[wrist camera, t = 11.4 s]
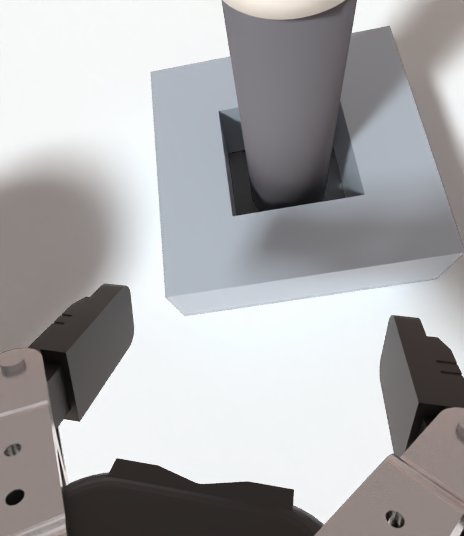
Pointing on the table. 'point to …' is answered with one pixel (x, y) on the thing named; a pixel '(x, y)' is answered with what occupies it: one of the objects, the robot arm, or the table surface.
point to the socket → (303, 216)
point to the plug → (288, 92)
